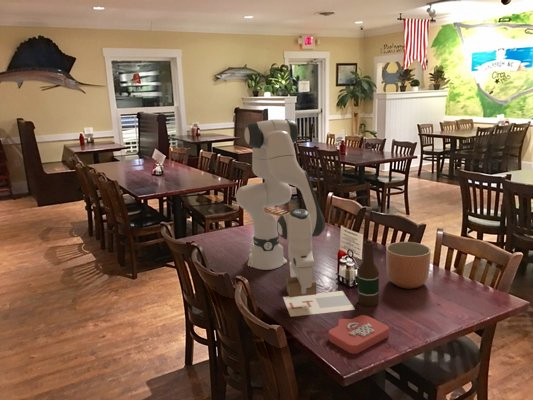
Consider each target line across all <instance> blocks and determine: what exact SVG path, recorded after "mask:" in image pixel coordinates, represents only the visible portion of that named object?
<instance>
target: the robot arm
mask: <svg viewBox="0 0 533 400" xmlns="http://www.w3.org/2000/svg"><path fill="white" fill-rule="evenodd" d="M298 138H299V128H298V124H297V123H296V121H294V119H293V120H292V119H288V118H286V119H267V120H261V121H252V122H250V123H247V124H246V126H245V129H244V140H245V142H246V145H247V146H248V147H250V148H252V155H251V157H252V159H251V161H252V162H251V165H252V166H251V170H252V172H253V174H254V175H255V176H257V177H258V178H261V179H263V180H264V182H261V183H251V184H246V185H243V186H240V187H239V188H238V189H237V191H236V194H235V199H236V203H237V204H238V207H240V208H241V209H242V210H245V211H246V212H247V213H248V215H249V216H250V218H251V220H252V226H253V237H252V239H253V240H252V241H253V245H252V247H251V248H249V256H248V257H249V258H248V261H247V265H248V266H247V267H249V266H250V268H254V269H256V270H266V271H267V270H268V271H269V270H274V269H277V268H280V267H282V266H283V265H286V264H287V263H288V260H289V262H290V261H291V266H292V269H293V271H294V273H295V275H296V277H297V279H298V281H299V283H300V285H301V293H302V294H305V293H306V288H309V287H311V286H312V277H314V276H313V271H314V269H313V267H314V266H315V260H314V254H313V243H312V238H314V237H320V236H321V235H322V234H323V233H324V231H325V229H326V220H325V217H324V213H322V212H323V211H322V210H321V207H320V206H319V202H318V199H317V196H316V193H315V191H314V187H313V184H312V182H311V179H310V176H309V175H308V172H307V171H306V170H304V169H303V168H301V167H302V166H300V164H299V162H298V160H297V154H296V150H295V146H294V144H295V143H296V142H297V140H298ZM290 185H291V186H294V187H296V188H297V189H298V190H299V191H300V193H301V195H302V199H303V202H304V205H305V208H306V209H304V208H303V209H302V208H295V209H292V210H290V211H289V212H288V213H284V214H281V215H280V216H279V217H278V219H277V217H276V216H275V215H273V214H272V213H269V212H266V211H265V208H268V207H269V208H270V207H274V206H275V207H276V206H281V205H284V204H288V203H289V202H290V200H291V198H292V195H293V193H292V191H293V190H292V188H291V186H290ZM280 237H281V238H282V239H284V240H286V241H288V246H287V247H288V248H287V249H288V252H287V253H288V254H287V255H288V259H287V258H285V257H284V247H283V245H282V244H280Z"/></svg>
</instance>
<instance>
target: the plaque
mask: <svg viewBox="0 0 533 400" xmlns="http://www.w3.org/2000/svg"><path fill="white" fill-rule="evenodd" d="M389 336H390V328H389V326H388V325H387V324H385V323H383V322H381V321H379V320H377V319H375V318H373V317H371V316H370V315H364V314H361V315H358V316H356V317H354V318H340V319H338V323H337V326H335V327H333V328H331V329H329V330H328V340H329V342H330V343H332V344H333V345H335V346H337V347H339V348H341V349H342V350H344V351H346V352H347V353H349V354H353V355H355V354H359V353H360V352H362V351H363V352H364V350H366V349H368V348H370V347H371V346H373V345H376V344H377V343H379V342H381V341H383V340H385V339H387V338H389Z"/></svg>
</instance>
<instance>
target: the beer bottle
mask: <svg viewBox="0 0 533 400" xmlns="http://www.w3.org/2000/svg"><path fill="white" fill-rule="evenodd" d="M362 255H363V257H362V262H361V263H360V265H359V267H358V269H357V301H358V303H359V305H360V306H363V307H375V306H377V305H378V304H379V297H380V296H379V295H380V292H379V291H380V289H379V287H380V284H379V283H380V276H379V275H380V274H379V269H378V267H377V265H376V264H375V260H374V242H373V241H370V240H367V241H364V242H363V254H362Z"/></svg>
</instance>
